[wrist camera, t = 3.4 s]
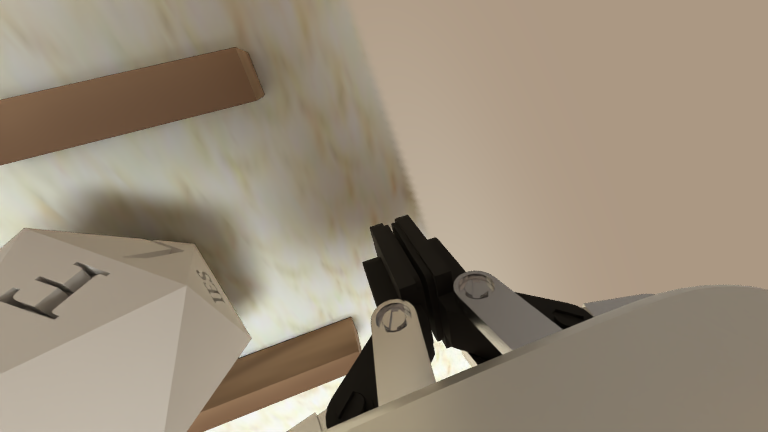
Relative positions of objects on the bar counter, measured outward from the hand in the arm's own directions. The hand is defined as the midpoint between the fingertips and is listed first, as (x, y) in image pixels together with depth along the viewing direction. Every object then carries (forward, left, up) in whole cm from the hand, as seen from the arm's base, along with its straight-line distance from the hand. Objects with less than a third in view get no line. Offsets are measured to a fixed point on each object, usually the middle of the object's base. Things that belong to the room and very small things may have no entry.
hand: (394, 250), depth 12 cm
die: (0, -11, -4) cm, 12 cm away
